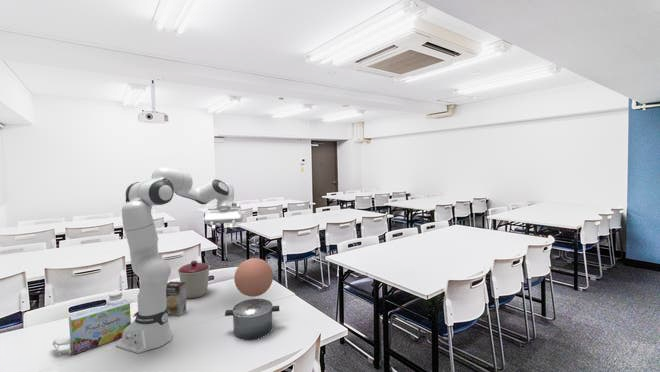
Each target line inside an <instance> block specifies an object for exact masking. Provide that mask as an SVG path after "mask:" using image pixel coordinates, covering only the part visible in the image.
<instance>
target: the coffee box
mask: <svg viewBox="0 0 660 372" xmlns="http://www.w3.org/2000/svg"><path fill="white" fill-rule="evenodd" d="M166 300H167V306H168V317H170V316H172V317H181V316H182V315H184V314H185V313H186V312H187V298H186V282H180V281H168V282H167V288H166Z"/></svg>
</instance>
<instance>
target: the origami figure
mask: <svg viewBox="0 0 660 372" xmlns="http://www.w3.org/2000/svg"><path fill="white" fill-rule="evenodd" d="M66 345H68V346H69V348H68V355H71V354H72V351H71V340H70V336H69V337H68V336H67V337H62V338H57V339H56V338H55V339H54V340H53V341H52V346H53V347H54V349H55V351H56V352H58V356H59V355H60V356H61V352H60V351H59V349H60V346H66Z"/></svg>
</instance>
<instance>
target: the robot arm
mask: <svg viewBox="0 0 660 372" xmlns="http://www.w3.org/2000/svg"><path fill="white" fill-rule="evenodd" d="M193 183H194V181H193V177H192V175H191V174H190V173H189V172H187V171H186V170H180V169H177V168H172V167H171V168H170V167H158V168H156V169H154V170H153V172H152V174H151V180H145V181H136V182H133V183H132V184H129V185H128V186H127V188H126V190H125V204H124V205H123V206H122V207H121V217H122V225H123V229H124V234H125V235H126V237H125V238H126V240H127V244H128V248H129V257H130V263H131V269H132V271H133V273H134V274H135V275H137V277H138V279H139V288H138V289H139V290H138V293H137V298H136V299H137V310H138V311H136V312H135V313H134V314H133V315H132V316H133V317H132V318H135V320H133V321H132V322H131V324H130V325H128V326H127V327H126V328H125V329H124V331H123V333H122V338H119V339H117V341H116V343H115V347H116V348H119V349H123V350H126V351H129V352H132V353H136V354H141V353H145V352H146V351H149V350H154V349H157V348H159V347H162V346H164V345H166V344H168V343H169V342H170V341H171V340H172V338H173V334H172V330H171V328H170V322H169V316H168V306H167V300H166V288H167V283H169V277H171V274H172V270H171V266H170V264H169V262H168V261H167V260H166V259H164V258H163V257H161V256H160V253H159V250H158V249H159V248H158V244H159V243H158V242H159V237H158V233H157V229H156V226H155V221H154V219H153V215H152V209H153V206H154V207H155V206H163V205H166V204H168V203H170V202H171V201H172V200H173V197H174V193H175V194H176V195H177V196H180V197H182V198H186V199H189V200H192V201H194V202H197V203H198V204H200V205H206V204H208V203H210V202H212V201H213V200H215V199H216V200H217V202H216V208H207V209H206V210H204V218H203V222H204V224H206V225H210V226H211V230H212V231H215V230H216V225H217V224H230V225H229V230H231V229H232V230H233V229H234V226H236V224H237V223H241V222H243V218H244V217H243V212H242V208H241V205H240V204H239V203H238V202H234V199H235V191H234V189H235V188H234V186H233V185H232V183H229V182H224V181H222V180H220V179H213V180H211V181H209V182H207V183H206V184H203V185H202V186H199V187H197V188H194V187H193ZM215 224H216V225H215Z"/></svg>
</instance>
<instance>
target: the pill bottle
mask: <svg viewBox="0 0 660 372" xmlns="http://www.w3.org/2000/svg"><path fill="white" fill-rule="evenodd" d="M108 296H109V297H108V298H109V299H107V301H106V306H109V305H112V304H116V303H119V302H123V301H127V299H126V297H125V296H123V291H122V290H121V291H120V290H117V291H113V292H111V293H110V294H108Z"/></svg>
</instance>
